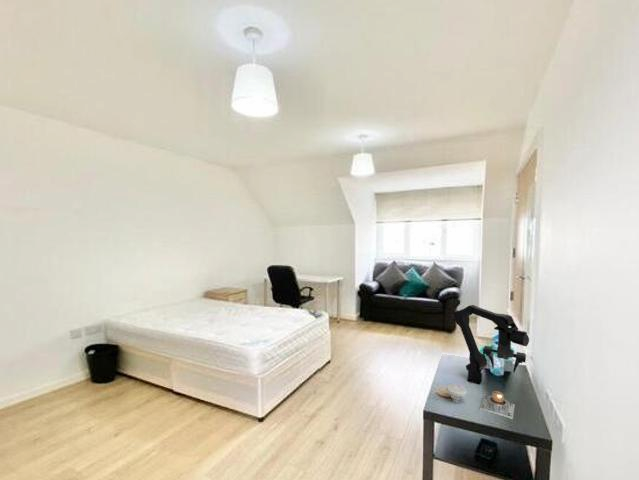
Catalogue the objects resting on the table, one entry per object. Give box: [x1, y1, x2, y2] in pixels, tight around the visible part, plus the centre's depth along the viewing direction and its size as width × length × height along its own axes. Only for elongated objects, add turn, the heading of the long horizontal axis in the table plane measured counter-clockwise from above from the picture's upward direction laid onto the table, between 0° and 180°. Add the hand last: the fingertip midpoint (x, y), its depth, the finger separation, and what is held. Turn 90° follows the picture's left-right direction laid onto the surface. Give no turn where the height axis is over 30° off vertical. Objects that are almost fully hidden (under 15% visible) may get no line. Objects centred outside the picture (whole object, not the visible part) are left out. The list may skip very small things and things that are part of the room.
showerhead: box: [445, 383, 468, 403], centre depth 155 cm, size 9×7×10 cm
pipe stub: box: [491, 390, 505, 405], centre depth 150 cm, size 4×4×6 cm
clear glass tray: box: [479, 395, 516, 420], centre depth 151 cm, size 13×13×3 cm
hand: (503, 370), depth 164 cm, fingers open, 9 cm apart
